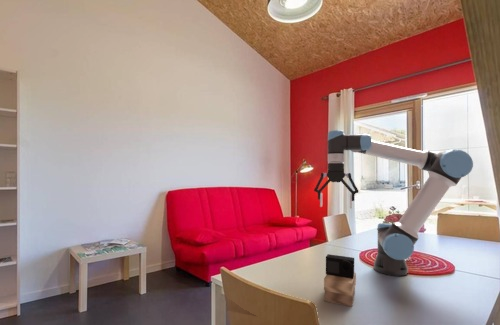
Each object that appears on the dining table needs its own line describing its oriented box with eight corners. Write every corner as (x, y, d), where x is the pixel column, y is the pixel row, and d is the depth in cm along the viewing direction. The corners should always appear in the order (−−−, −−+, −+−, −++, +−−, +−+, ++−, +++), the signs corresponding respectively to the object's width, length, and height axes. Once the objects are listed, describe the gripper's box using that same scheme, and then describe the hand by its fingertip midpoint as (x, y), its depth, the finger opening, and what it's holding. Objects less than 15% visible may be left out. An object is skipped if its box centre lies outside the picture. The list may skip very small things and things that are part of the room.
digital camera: (324, 275, 112) (324, 257, 112) (327, 271, 117) (327, 253, 117) (352, 280, 108) (352, 261, 108) (354, 275, 113) (354, 257, 113)
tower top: (355, 284, 115) (355, 272, 115) (351, 295, 104) (351, 283, 104) (330, 279, 120) (330, 268, 120) (324, 290, 109) (324, 278, 109)
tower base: (354, 294, 115) (354, 283, 115) (352, 308, 104) (352, 295, 104) (329, 290, 119) (329, 279, 120) (324, 302, 108) (324, 290, 109)
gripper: (308, 162, 138) (308, 206, 138) (364, 162, 129) (364, 209, 129) (310, 163, 145) (310, 204, 145) (363, 162, 136) (363, 207, 136)
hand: (335, 207), depth 137 cm, fingers open, 13 cm apart
